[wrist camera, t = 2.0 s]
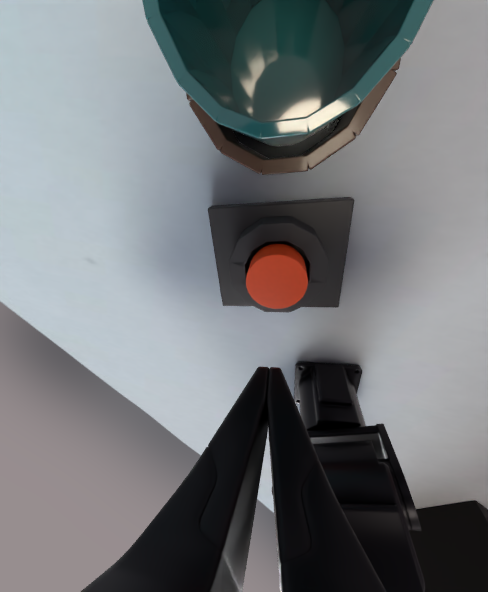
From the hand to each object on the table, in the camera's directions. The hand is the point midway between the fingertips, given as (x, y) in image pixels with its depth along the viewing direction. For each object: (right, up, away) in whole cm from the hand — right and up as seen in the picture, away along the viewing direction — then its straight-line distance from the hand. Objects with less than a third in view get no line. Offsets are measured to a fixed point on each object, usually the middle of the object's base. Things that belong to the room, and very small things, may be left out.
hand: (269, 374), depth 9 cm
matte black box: (+40, -43, +34) cm, 68 cm away
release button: (+1, +5, +8) cm, 9 cm away
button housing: (+2, +6, +10) cm, 12 cm away
